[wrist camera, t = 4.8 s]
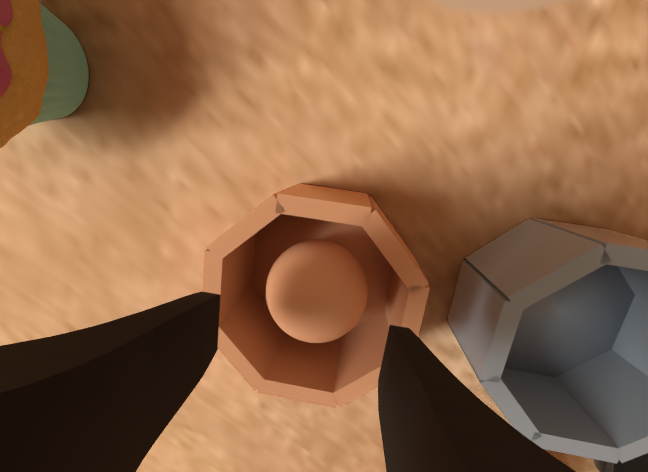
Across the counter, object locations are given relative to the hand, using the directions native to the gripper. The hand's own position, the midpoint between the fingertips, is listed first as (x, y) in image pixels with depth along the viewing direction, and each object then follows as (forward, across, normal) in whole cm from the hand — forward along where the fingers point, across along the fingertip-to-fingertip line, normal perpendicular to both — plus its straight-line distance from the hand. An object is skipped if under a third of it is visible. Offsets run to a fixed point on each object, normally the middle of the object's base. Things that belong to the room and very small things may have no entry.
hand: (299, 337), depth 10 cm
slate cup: (+6, -11, 0) cm, 13 cm away
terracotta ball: (+4, 0, 0) cm, 4 cm away
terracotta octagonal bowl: (+6, 0, 0) cm, 6 cm away
